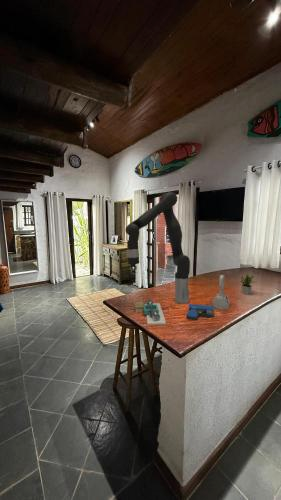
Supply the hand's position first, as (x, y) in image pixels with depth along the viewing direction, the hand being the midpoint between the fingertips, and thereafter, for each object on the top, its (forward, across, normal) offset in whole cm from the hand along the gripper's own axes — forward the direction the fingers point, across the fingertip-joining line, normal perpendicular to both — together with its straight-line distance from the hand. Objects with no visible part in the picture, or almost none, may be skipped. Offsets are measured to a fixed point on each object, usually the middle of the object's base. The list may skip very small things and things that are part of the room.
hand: (134, 281), depth 135 cm
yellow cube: (+19, -3, -3) cm, 19 cm away
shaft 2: (+18, -16, -12) cm, 27 cm away
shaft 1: (+18, 0, -10) cm, 20 cm away
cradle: (+18, -8, -10) cm, 22 cm away
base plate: (+18, -8, -12) cm, 24 cm away
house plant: (+19, +22, -85) cm, 90 cm away
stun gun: (+19, -12, -39) cm, 45 cm away
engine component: (+19, +1, -57) cm, 60 cm away
